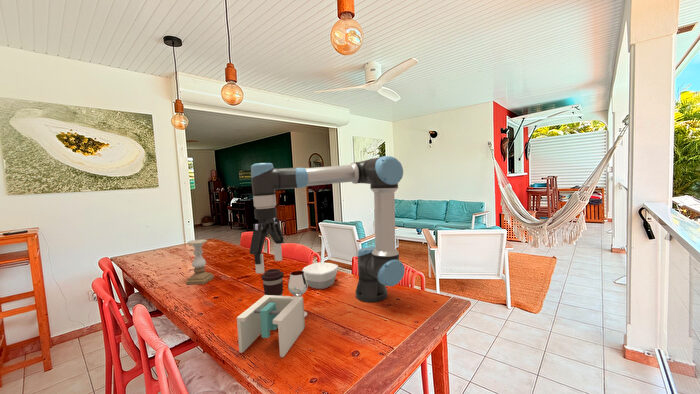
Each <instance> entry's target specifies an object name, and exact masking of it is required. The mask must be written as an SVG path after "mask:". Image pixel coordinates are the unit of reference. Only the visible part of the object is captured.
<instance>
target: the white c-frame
mask: <svg viewBox="0 0 700 394" xmlns="http://www.w3.org/2000/svg"><path fill="white" fill-rule="evenodd" d="M270 302H273V303H276V311H271V312H270V313H269V314H273V315H277V316H276V317H275V318H274V319H273V324H277V329H278V346H279V358H284V357H285V355H287V353H288V352H289V350H290V349H291V348H292V346H293V345H294V343H295V342H296V341H297V339H298V338H299V336H301V334H302V332H303V331H304V329H305V328H306V325H305V323H306V321H305V317H304V311H305V308H304V307H305V306H304V305H305V303H304V297H303V296H301V297H296V296H294V295H292V296H290V295H282V296H275V295H265V294H264V295H263V296H262V297H260V298H259V299H258V300H257V301H256V302H255V303H253V304H251V306H249V307H248V308H247V309H245V310H244V311H243V312H242V313H240V314H239V315H238V316H237V317H236V325H237V338H238V339H237V340H238V352H239V353H241V354H243V353H245V351H246V350H247V349H248V348H249V347H250V346H251V345H252V344H253V343H254V342H255V341H256V340H257V338H258V337H259V336H261V320H260V310H261V309H262V308H264V307H265V306H266V305H267V304H268V303H270Z"/></svg>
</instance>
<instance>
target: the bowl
mask: <svg viewBox="0 0 700 394" xmlns="http://www.w3.org/2000/svg"><path fill="white" fill-rule="evenodd" d="M338 270H339V265H338V264H335V263H331V262H314V263H312V264H309V265H306V266H304V267H303V269H302V270H301V271H303V272H304V273H305V276H306V279H307V283H308V287H310V288H312V289H318V290H324V289H327V288H328V287H331V286H332V285H334V283H335V280H336V277H337V273H338Z"/></svg>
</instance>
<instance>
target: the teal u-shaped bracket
mask: <svg viewBox="0 0 700 394" xmlns="http://www.w3.org/2000/svg"><path fill="white" fill-rule="evenodd" d="M271 311H276V303H273V302H270V303H268V304H267V305H266V306H265V307H264V308H262V309H261V310H260V320H261V334H260V336H261V338H263V339H268V338H270V337H271V331H277V329H278V327H277V324H273V319H274V318H275V317H276V316H277V315H273V314H269V313H270V312H271Z"/></svg>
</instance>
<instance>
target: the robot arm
mask: <svg viewBox="0 0 700 394" xmlns="http://www.w3.org/2000/svg"><path fill="white" fill-rule="evenodd" d="M250 172H251V173H250V174H251V177H250V178H251V189H252V190H251V191H252V196H253V199H252V201H253V207H254V210H253V211H254V212H253V214H254V219H255V220H257V221H258V223H253V224H252V235H251V236H252V237H251V242H250V247H249V255H253V257H254V266H255V274H264V273H265V262H264V253H262V252H263V249H264V245H265V241H266V238H267V237H268V236H269V235H270V237H271V239H272V240H273V242H274V243H273V253H274V261H275V262H278V261H279V262H282V261H283V254H282V253H283V251H282V244H283V243H284V240H285V238H284V235H283V232H282V228H281V226H280V223H279V217H278V213H277V212H278V210H277V207H276V206H277V197H276V190H290V189H301V188H306V187H311V186H312V187H313V186H320V185H321V186H323V185H330V184H331V185H332V184H341V183H342V184H343V183H352V184H355V185H356V184H357V185H358V184H366V185H367V184H368V185H369V186H370V191H372V192H373V195H374V199H373V200H374V201H373V204H374V207H373V208H374V240H375V241H374V244H375V245H374V246H368V247H364V248H360V249H358V250H357V256H356V257H357V270H358V272H357V273H358V281H357V284H356V289H355V298H356V299H357V300H359V301H361V302H365V303H366V302H367V303H377V302H378V303H379V302H382V301H384V300H385V299H387V297H388V290H387V289H388V288H387V287H394V286H396V285H398V284H400V282H401V281H402V280H403V278H404V276H405V268H406V267H405V265H404V264H403V262H402V261H401V260H400V252H399V250H397V248H396V209H395V208H396V207H395V206H396V203H395V202H396V199H395V193H396V191H397V190H398V189H399V183H400V182H401V180H402V179H403V176H404V169H403V165H402V163H401V162H400V160H398V159H397V158H396V157H394V156H390V155H388V156H387V155H384V156H379V157H374V158H370V159H366V160H362V161H354V162H351V163H350V164H346V165H345V164H344V165H343V164H342V165H334V166H333V165H332V166H330V165H329V166H317V167H287V168H286V167H284V168H282V167H281V168H275V167H274V164H273V163H271V162H259V163H253V164H252V165H250Z"/></svg>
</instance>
